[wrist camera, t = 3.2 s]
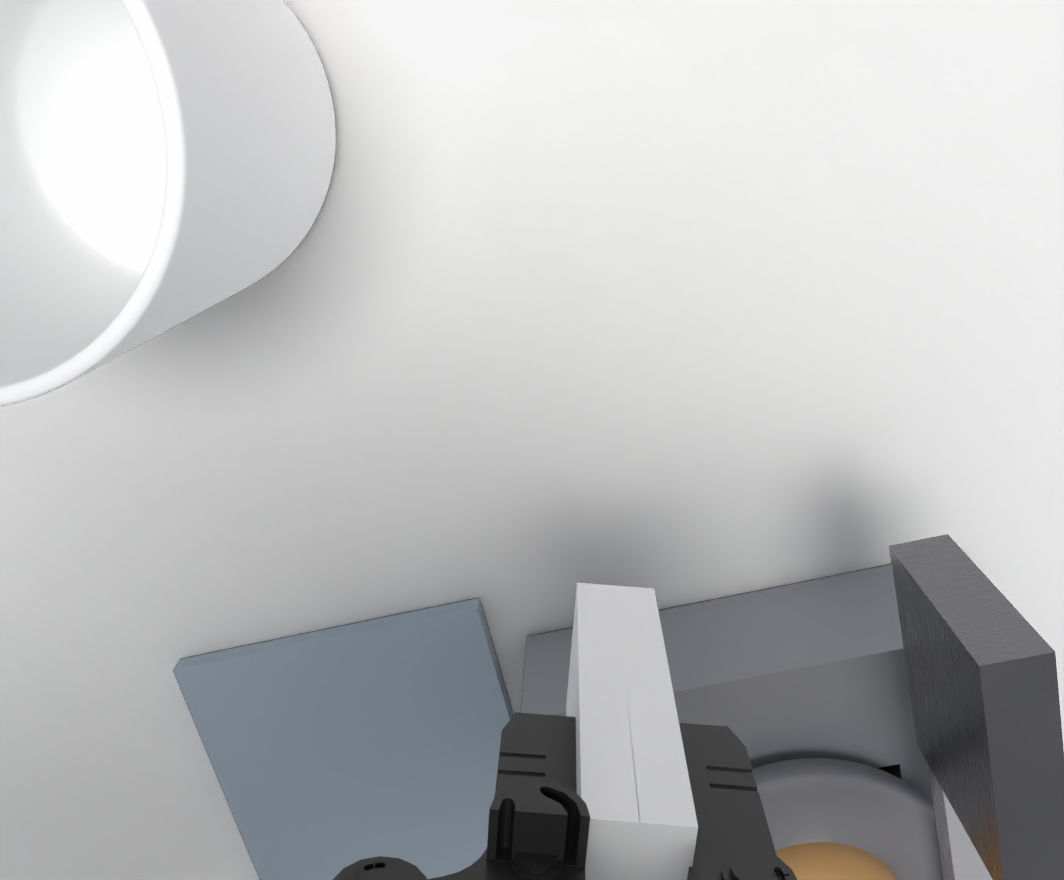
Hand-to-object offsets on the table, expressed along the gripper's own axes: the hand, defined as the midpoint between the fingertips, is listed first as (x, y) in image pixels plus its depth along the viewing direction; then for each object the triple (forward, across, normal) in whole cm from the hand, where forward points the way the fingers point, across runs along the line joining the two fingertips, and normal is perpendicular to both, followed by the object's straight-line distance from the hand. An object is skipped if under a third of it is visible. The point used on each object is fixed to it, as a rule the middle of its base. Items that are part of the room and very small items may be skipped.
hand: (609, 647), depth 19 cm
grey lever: (+2, +9, -6) cm, 11 cm away
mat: (+7, -6, -9) cm, 13 cm away
